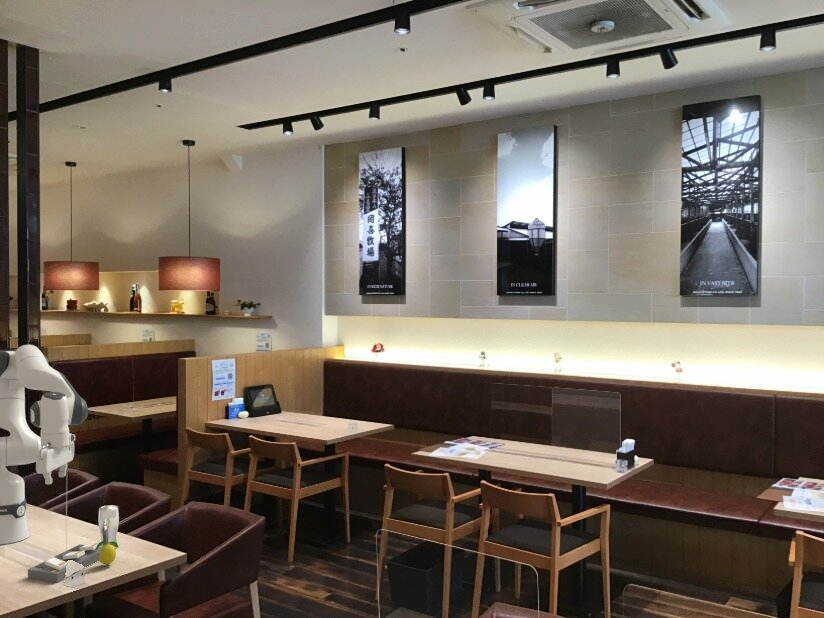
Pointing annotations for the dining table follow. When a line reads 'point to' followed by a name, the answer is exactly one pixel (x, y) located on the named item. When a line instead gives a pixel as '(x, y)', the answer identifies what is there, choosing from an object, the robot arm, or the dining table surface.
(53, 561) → the rocker
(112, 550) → the lemon
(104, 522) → the beer glass
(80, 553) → the rocker
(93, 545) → the rocker
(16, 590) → the dining table surface
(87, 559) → the power strip
